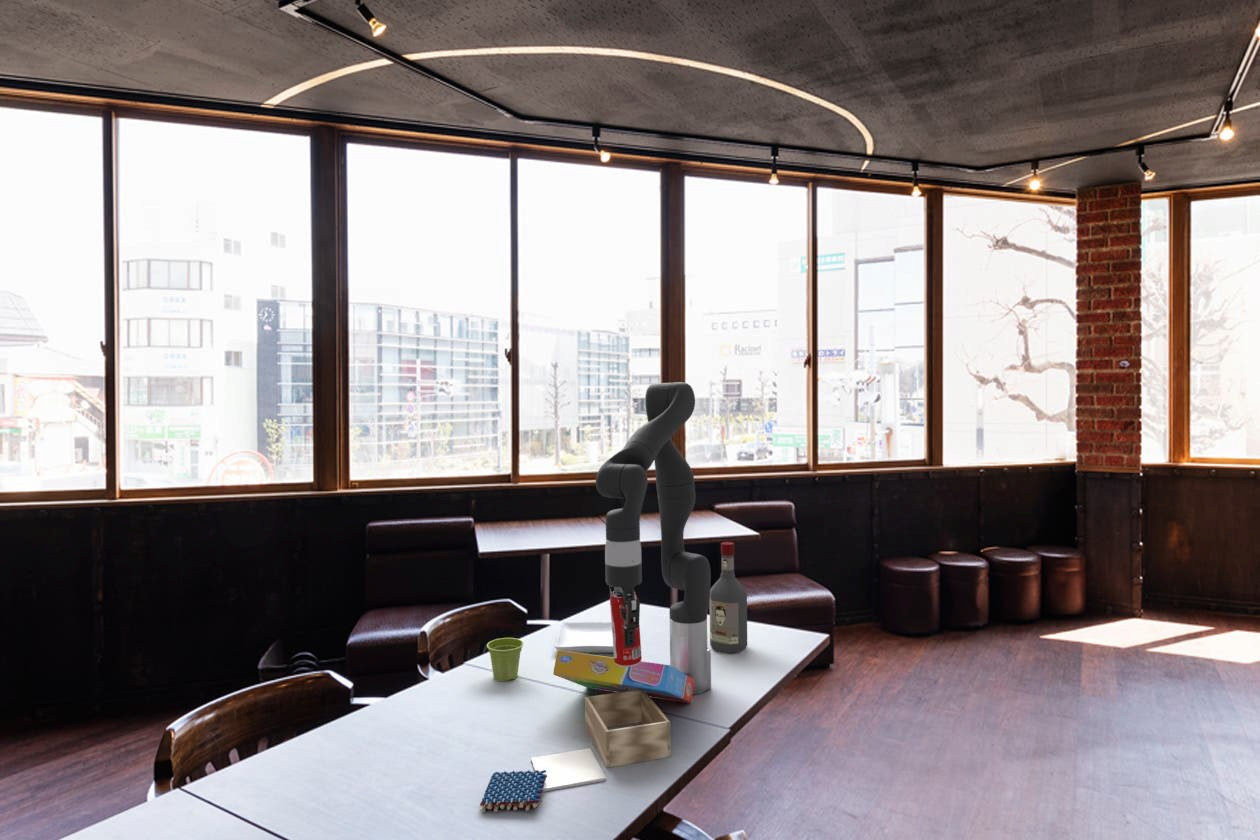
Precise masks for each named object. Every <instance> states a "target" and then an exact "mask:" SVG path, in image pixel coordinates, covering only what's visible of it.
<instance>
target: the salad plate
mask: <svg viewBox="0 0 1260 840" xmlns="http://www.w3.org/2000/svg"><path fill="white" fill-rule="evenodd" d="M553 647H554V648H555V649H556V650H557V651H558V650H562V651H569V652H577V653H584V654H604V653H605V654H606V653H607V654H609V653H611V654H612V653H613V654H614V651H613V637H612V622H610V621H609V622H608V621H601V622H599V621H594V622H593V621H588V622H587V621H583V622H581V621H580V622H578V621H575V622H562V624H561V625H560V629H559V633H558V636H557V639H556V640H555V643H554V646H553Z"/></svg>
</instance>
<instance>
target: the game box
mask: <svg viewBox="0 0 1260 840" xmlns="http://www.w3.org/2000/svg"><path fill="white" fill-rule="evenodd" d="M553 676H556V677H559V678H561V679H563V680H566V681H568V682H572V683H574V684H576V685H578V686H582V687H584V688H587V689H594V690H601V691H607V692H612V693H618V692H625V691H632V690H639V689H643V690H644V691H645V692H646V693H647V695H648V696H649V697H650V698H653V699H654V698H655V699H660V700H667V701H674V702H679V703H680V702H681V703H688V704H691V703H692V701H693V695H694V694H693V687H694V679H692V678H690V677H689V676H687V675H685V674H684V673H682V672H680V671H678V670H677V669H675V668H673V667H672V666H670V664H664V663H659V662H658V663H657V662H649V661H648V662H647V661H642V660H641V661H640V663H639V664H637V665H635V666H632V667H621V666H618V665H617V664H616V663H615V662H614V656H605V655H599V654H598V655H597V654H592V653H577V652H569V651H562V650H557V652H556V657H555V661H554V667H553Z"/></svg>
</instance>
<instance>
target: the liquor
mask: <svg viewBox="0 0 1260 840" xmlns="http://www.w3.org/2000/svg"><path fill="white" fill-rule="evenodd" d="M720 554H721V573H720V577H719V578H718V579H717V581H716V582H714V584H713V585H712V586H711V587H710V603H709V645H710V647H711V649H712V650H713V651H714V652H718V653H723V654H725V655H726V654H727V655H737V654H740V653H741V652H743V651H744V650H746V648H748V593H747V590H746V588H745V587H744V585H742V583H741V582H740V581H739V580H738V578H736V574H735V563H734V562H735V561H734V560H735V556H734V555H735V543H734V542H730V541H726V542H725V541H723V542H721V543H720Z"/></svg>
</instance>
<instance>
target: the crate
mask: <svg viewBox="0 0 1260 840" xmlns="http://www.w3.org/2000/svg"><path fill="white" fill-rule="evenodd" d="M584 721H585V725H584V727H585V729H584V730H585V731H586V733H587V735H588V736H589V738H590V740H591V742H592V744H593V746H594V747H595V748H594V749H596V752H598V756H600V758H601V760H602V762H603V764H604V765H605V767H606V768H607V769H608V768H612V767H618V766H619V767H620V766H625V765H629V764H630V765H631V764H635V763H642V762H646V761H647V762H648V761H653V760H659V759H664V758H670V757H671V721H670V720H669V719H668V718H667V716H666V715H665V714H664V713H663V711H662V710H661V709H660V708H659V706H658V705H657V704H656V703H655V702H654V701H653V700H652V697H649V696H648V695H647V693H646V692H645V691H644V690H643V689H639V690H632V691H625V692H612V693H606V694H599V695H590V696H585V697H584ZM635 723H636V724H637V723H642V724H639V725H633V726H628V727H627V726H626V727H621V728H620V727H619V728H613V729H608V728H609V727H615V726H616V727H617V726H622V725H629V724H635Z"/></svg>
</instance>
